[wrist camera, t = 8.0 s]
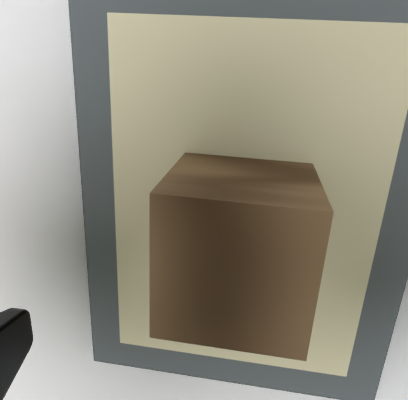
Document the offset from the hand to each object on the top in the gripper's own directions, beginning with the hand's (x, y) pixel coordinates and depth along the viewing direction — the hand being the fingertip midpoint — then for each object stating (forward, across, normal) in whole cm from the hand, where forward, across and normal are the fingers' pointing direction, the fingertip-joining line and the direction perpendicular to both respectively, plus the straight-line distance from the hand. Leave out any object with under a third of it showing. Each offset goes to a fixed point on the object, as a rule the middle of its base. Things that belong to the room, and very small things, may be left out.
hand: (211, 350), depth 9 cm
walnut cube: (+8, 0, 0) cm, 8 cm away
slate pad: (+8, 0, 0) cm, 8 cm away
